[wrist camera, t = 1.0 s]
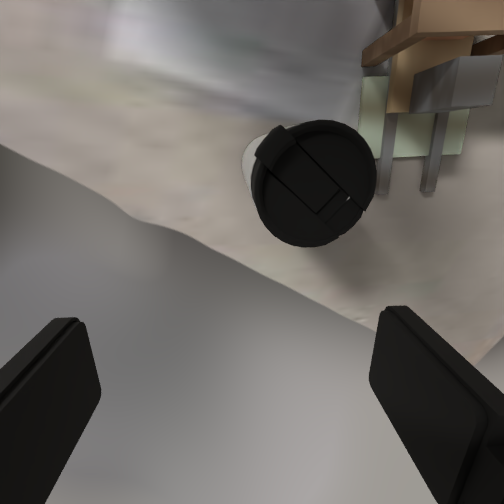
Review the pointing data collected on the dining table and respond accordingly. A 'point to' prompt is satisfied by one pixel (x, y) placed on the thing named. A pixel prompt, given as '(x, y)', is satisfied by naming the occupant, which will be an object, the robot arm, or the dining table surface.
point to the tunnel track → (428, 124)
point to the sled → (440, 74)
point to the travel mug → (310, 180)
